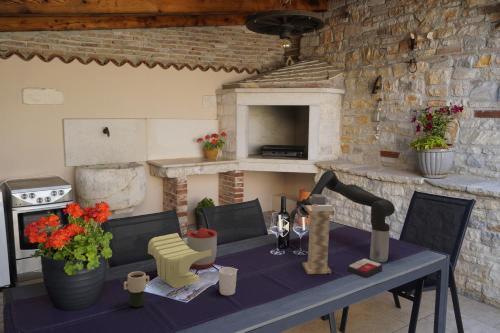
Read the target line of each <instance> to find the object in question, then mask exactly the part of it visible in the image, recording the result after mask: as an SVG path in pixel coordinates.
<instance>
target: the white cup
mask: <svg viewBox="0 0 500 333" xmlns="http://www.w3.org/2000/svg"><path fill="white" fill-rule="evenodd" d="M237 272H238V270H237V268H234V267H231V266H225V267H221V268H219V269H218V283H219V284H218V285H219V293H220V295H223V296H233V295H234V294H235V293H236V286H237V285H236V284H237V276H238V275H237Z"/></svg>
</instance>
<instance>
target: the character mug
mask: <svg viewBox="0 0 500 333" xmlns="http://www.w3.org/2000/svg"><path fill="white" fill-rule="evenodd" d="M148 284H150V275H146V273H145V272H144V271H138V270H136V271H132V272H129V273H128V274H127V281H124V282H123V290H128V292H130V293H129V300H128V305H129V306H131V307H134V308H140V307H142V306H144V305H145V304H146V298H145V293H144V292H145V290H146V288H147V285H148Z"/></svg>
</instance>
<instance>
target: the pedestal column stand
mask: <svg viewBox="0 0 500 333" xmlns="http://www.w3.org/2000/svg"><path fill="white" fill-rule="evenodd" d="M304 209H305V210H306V211H307V212H308V213H309V214H310V215H309V229H308V232H309V233H308V250H307V252H308V253H307V261H302V262H301V265H302V267H303V269H304V270H305V272H306V274H307V275H316V274H317V275H318V274H319V275H322V274H323V275H324V274H326V275H327V273H329V274H332V269H331V268H330V267H329V266H328V258H329V256H328V254H329V241H330V240H329V238H330V222H331V221H330V220H331V219H330V218H331V216H335V210H334V209H333V211H312V210H311V209H312V205H305V206H304Z"/></svg>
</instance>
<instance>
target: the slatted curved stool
mask: <svg viewBox="0 0 500 333" xmlns="http://www.w3.org/2000/svg"><path fill="white" fill-rule="evenodd" d="M147 254H149V255H151V256H153V258H154V259H155V262H156V269H157V277H158V278H159V279H161V280H162V281H163V282H165V283H166V284H167V285H169V286H170V287H173V288H174V289H178V288H182V287H184V286H188V285H191V284H196V283H199V282H201V278H200V277H201V276H199V275H198V274H196V273H194V272H193V271H191V270H190V268H191V267H192V266H191V265H192V264H193V263H194V262H195V261H197V260H199V259H201V258H204V257H207V256H211V250H207V251H202V252H197V251H196V252H195V251H194V250H192V249H190V248H189V247H188V246H187V244H186V243H185V241H184V240H183V239H182V237H180V235H179V233H178V232H175V233H170V234H166V235H160V236H155V237H152V238H151V239H150V240H149V242H148V244H147Z"/></svg>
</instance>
